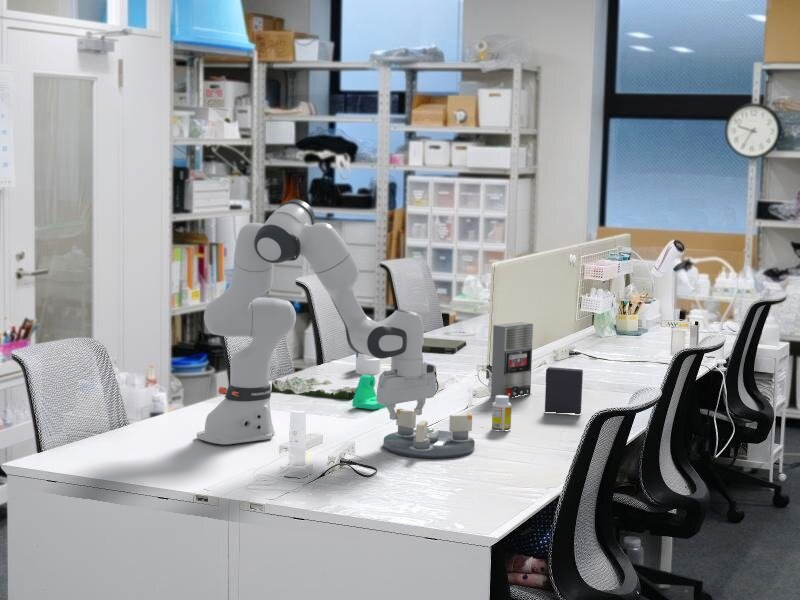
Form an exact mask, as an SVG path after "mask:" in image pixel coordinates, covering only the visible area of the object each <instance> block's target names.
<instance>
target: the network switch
mask: <svg viewBox="0 0 800 600" xmlns="http://www.w3.org/2000/svg"><path fill="white" fill-rule="evenodd" d="M466 346H467V342H466V340H458V339H445V338H437V337H436V338H433V337H424V339H423V346H422V353H426V354H427V353H431V354H432V353H433V354H434V353H435V354H447V355H449V354H450V355H455V354H456V353H458V352H459V351H461V350H462V349H463V348H465V347H466Z"/></svg>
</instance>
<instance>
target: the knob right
mask: <svg viewBox="0 0 800 600" xmlns="http://www.w3.org/2000/svg"><path fill="white" fill-rule="evenodd" d="M448 423H449V424H448V425H449V428H448V429H449V430H448V431H449V432H452V438H453V439H457V440H465V439H468V436H469V432H472V430H473V415H472V414H471V413H468V414H466V413H465V414H449V422H448Z"/></svg>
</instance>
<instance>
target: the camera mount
mask: <svg viewBox="0 0 800 600" xmlns="http://www.w3.org/2000/svg"><path fill="white" fill-rule="evenodd" d="M375 385H376V378H375V375H374V376H373V375H362V374H361V375H360V378H359V380H358V384H357V386H356V387H357V390H356V393H355V396H354V399H352V404H351V405H352V407H354V408H359V409H366V410H381V409H383V408H387V405H381V404H378V402H377V400H376V396H377V393H376V390H375V389H374V388H375Z"/></svg>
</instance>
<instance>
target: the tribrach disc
mask: <svg viewBox="0 0 800 600" xmlns="http://www.w3.org/2000/svg"><path fill="white" fill-rule="evenodd" d="M414 438H416V429H414V433H413V434H412V435H400V434H398V431H396V432H392V433H389V434H387V435H386V436H384V437H383V443H382V444H383V445H382V446H383V449H384V450H385V451H387V452H388V453H390V454H393V455H396V456H400V457H406V458H411V459H421V460H422V459H423V460H424V459H425V460H444V459H445V460H446V459H447V460H448V459H455V458H461V457H465V456H468V455H470V453H471V454H473V453H474V451H475V440H474V439H473V438H472V437H471V436H469V435H468V439H465V440H457V439H453V438H452V432H451V431H449V430H437V429H434V428H431V427H427V438H428V439H430V448H427V449H418V448H414V447H413V439H414Z"/></svg>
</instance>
